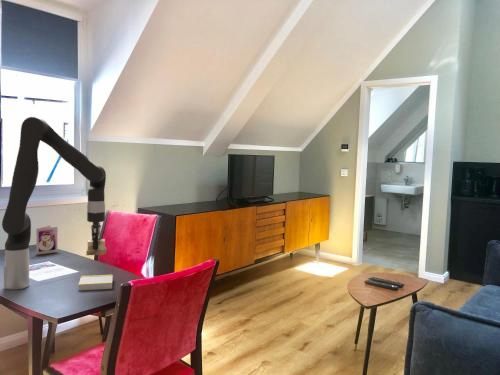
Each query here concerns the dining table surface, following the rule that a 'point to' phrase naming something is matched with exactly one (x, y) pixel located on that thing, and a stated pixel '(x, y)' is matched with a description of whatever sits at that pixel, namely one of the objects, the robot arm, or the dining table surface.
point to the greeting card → (46, 240)
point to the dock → (95, 282)
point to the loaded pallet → (99, 251)
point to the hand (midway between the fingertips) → (96, 247)
